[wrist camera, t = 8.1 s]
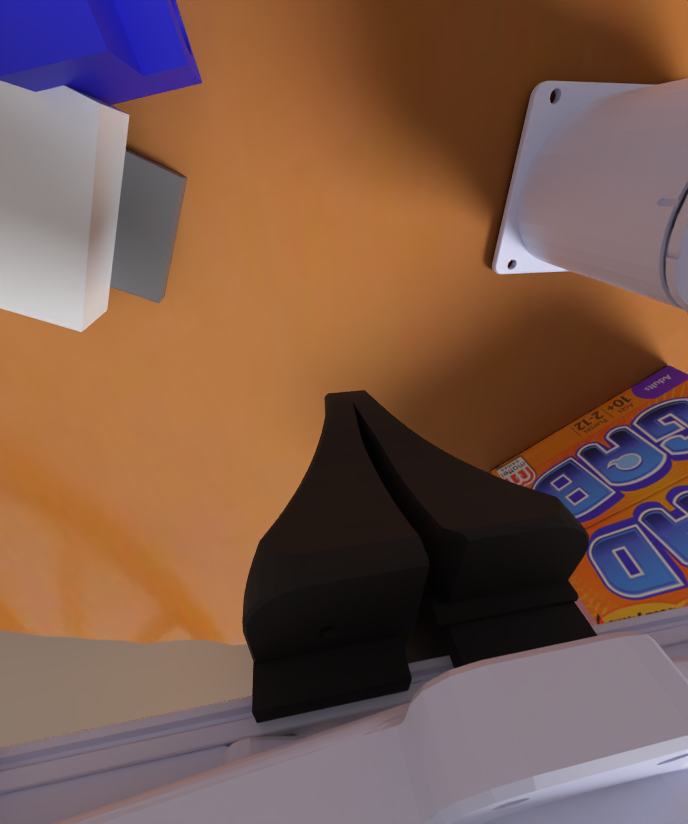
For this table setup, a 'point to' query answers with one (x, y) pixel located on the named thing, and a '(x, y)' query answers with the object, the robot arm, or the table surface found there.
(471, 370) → the table surface
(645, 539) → the game box
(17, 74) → the blue piece
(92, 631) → the table surface
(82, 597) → the table surface
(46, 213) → the shaft rig
